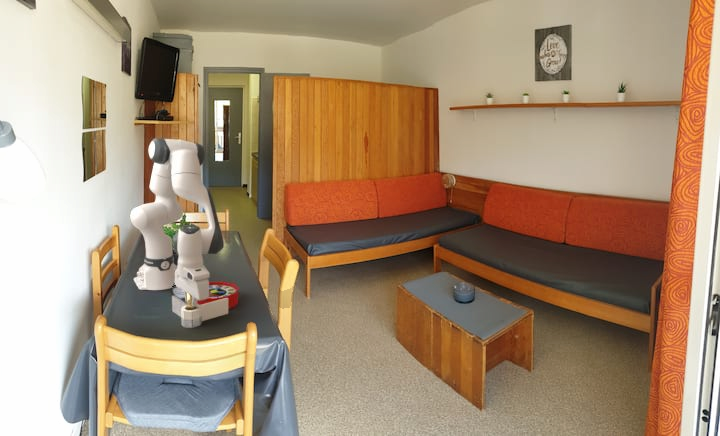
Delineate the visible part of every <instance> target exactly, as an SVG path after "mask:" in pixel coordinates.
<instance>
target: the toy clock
mask: <svg viewBox="0 0 720 436" xmlns="http://www.w3.org/2000/svg"><path fill="white" fill-rule="evenodd" d="M224 298H228V310H229V309H231V308H233V307H236V306H237V304H239V287H238V286H237V285H236V284H233V283H231V282H225V281H209V296H208V298H207V299H204V300H200V301H199V300H198V301H197V304H199V305H202V304H205V303H209V302H213V301H216V300H220V299H224Z"/></svg>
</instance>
